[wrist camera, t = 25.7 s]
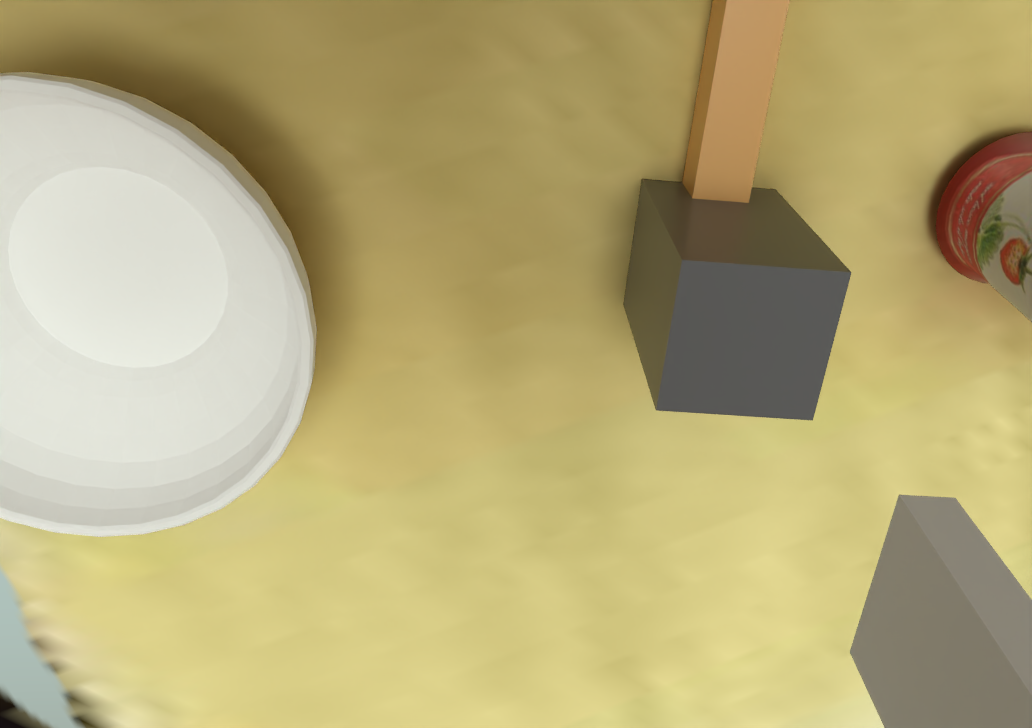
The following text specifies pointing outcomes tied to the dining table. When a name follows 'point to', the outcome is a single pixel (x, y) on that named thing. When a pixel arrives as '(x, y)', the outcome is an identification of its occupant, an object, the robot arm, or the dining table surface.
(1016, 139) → the red glass bottle
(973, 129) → the dining table surface
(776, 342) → the hammer
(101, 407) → the bowl
